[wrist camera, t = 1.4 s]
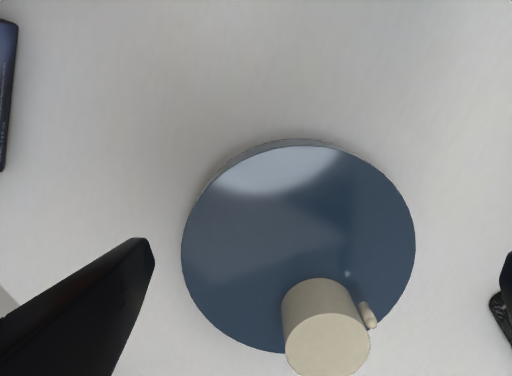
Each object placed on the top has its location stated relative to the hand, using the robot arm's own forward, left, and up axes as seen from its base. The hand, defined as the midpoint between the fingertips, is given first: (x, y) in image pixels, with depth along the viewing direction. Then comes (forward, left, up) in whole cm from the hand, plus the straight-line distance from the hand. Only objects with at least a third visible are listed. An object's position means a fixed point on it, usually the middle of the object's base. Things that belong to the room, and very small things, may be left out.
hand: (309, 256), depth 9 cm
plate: (-1, -9, -17) cm, 19 cm away
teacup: (-1, -13, -14) cm, 19 cm away
